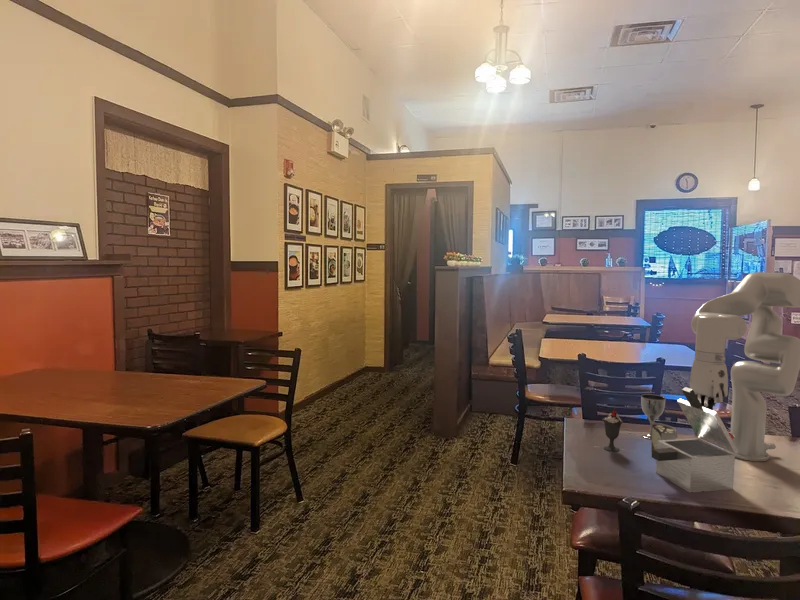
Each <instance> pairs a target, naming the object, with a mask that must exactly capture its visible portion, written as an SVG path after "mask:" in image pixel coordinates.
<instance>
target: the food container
mask: <svg viewBox="0 0 800 600" xmlns="http://www.w3.org/2000/svg"><path fill="white" fill-rule="evenodd" d="M651 428H652V440H651V448H650V449H651V450H650V452H651V453H652V449H657V443H658V440H674V439H678V433H677V430H676V428H675V427H674V426H671V425H668V424H664V423H661V422H655V421H654V422H652V426H651Z"/></svg>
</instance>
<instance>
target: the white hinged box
mask: <svg viewBox="0 0 800 600" xmlns="http://www.w3.org/2000/svg"><path fill="white" fill-rule="evenodd" d="M651 458H652V459H655V460H656V464H655V473H657V474H658V475H660V477H662V478H665V479H666V480H668V481H670V483H672V484H675V485H676V486H678V487H679V488H681V489H683V490H685V491H686V492H687V493H690V494H691V492H693V493H703V492H702V491H704V492H712V491H713V492H714V491H726V490H734V477H735V462H736V461H735V460H736V459H735V458H736V457H735V455H734V454H732V453H730V452H728V451H725V450H724V449H723V448H720V447H718V446H716V445H714V444H711V443H709V442H707V441H705V440H703V439H700V438H698V437H694V438H691V437H690V438H676V439H674V440H658V443H657V449H652V452H651Z"/></svg>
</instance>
